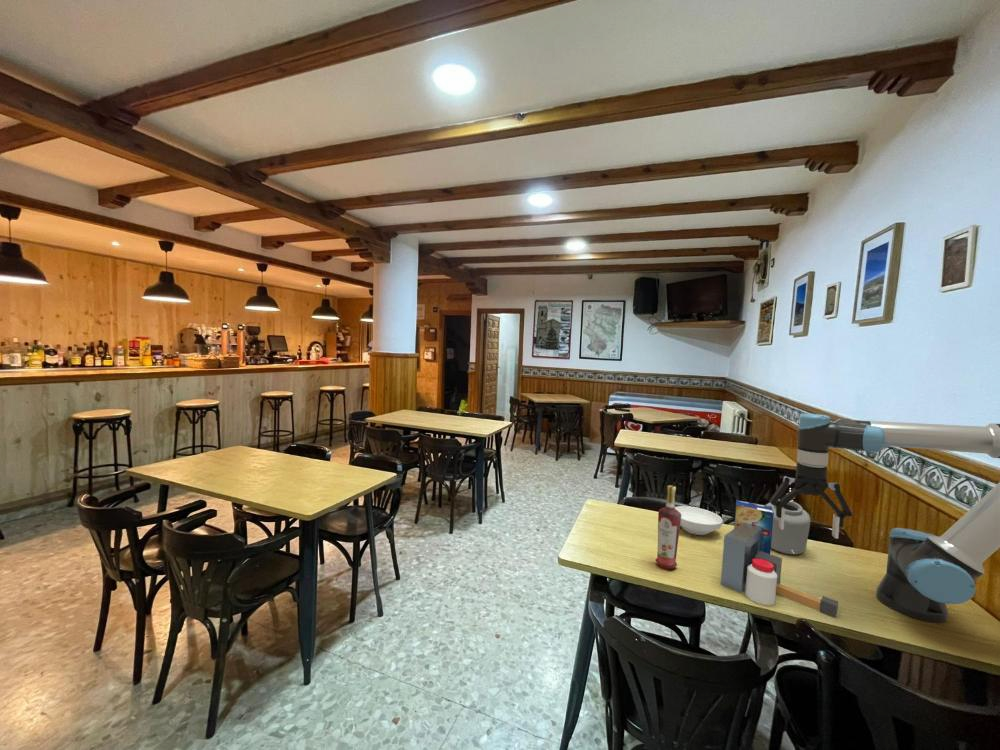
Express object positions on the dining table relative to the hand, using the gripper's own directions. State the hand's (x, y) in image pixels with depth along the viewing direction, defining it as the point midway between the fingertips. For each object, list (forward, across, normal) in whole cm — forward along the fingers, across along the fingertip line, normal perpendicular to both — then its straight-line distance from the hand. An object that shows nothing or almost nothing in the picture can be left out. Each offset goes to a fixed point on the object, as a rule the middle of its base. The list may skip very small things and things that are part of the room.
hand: (807, 532), depth 124 cm
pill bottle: (+20, +13, +8) cm, 25 cm away
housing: (+20, +16, -2) cm, 26 cm away
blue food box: (+20, +13, -13) cm, 28 cm away
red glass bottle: (+20, +40, +2) cm, 44 cm away
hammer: (+20, +3, +3) cm, 21 cm away
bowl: (+20, +29, -36) cm, 51 cm away
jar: (+20, -2, -35) cm, 40 cm away
